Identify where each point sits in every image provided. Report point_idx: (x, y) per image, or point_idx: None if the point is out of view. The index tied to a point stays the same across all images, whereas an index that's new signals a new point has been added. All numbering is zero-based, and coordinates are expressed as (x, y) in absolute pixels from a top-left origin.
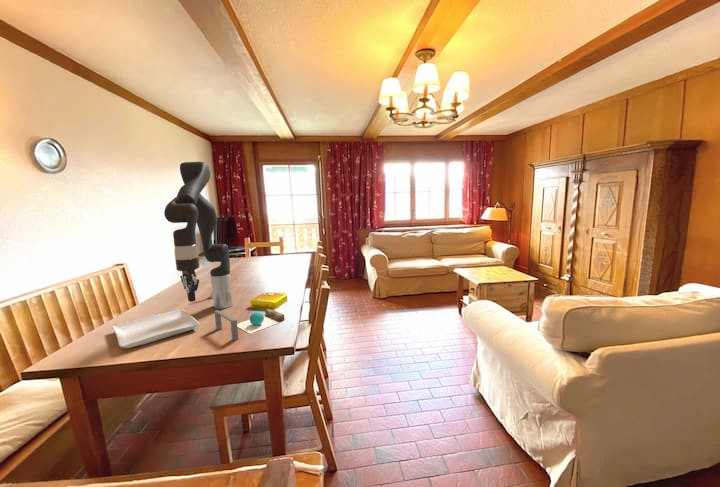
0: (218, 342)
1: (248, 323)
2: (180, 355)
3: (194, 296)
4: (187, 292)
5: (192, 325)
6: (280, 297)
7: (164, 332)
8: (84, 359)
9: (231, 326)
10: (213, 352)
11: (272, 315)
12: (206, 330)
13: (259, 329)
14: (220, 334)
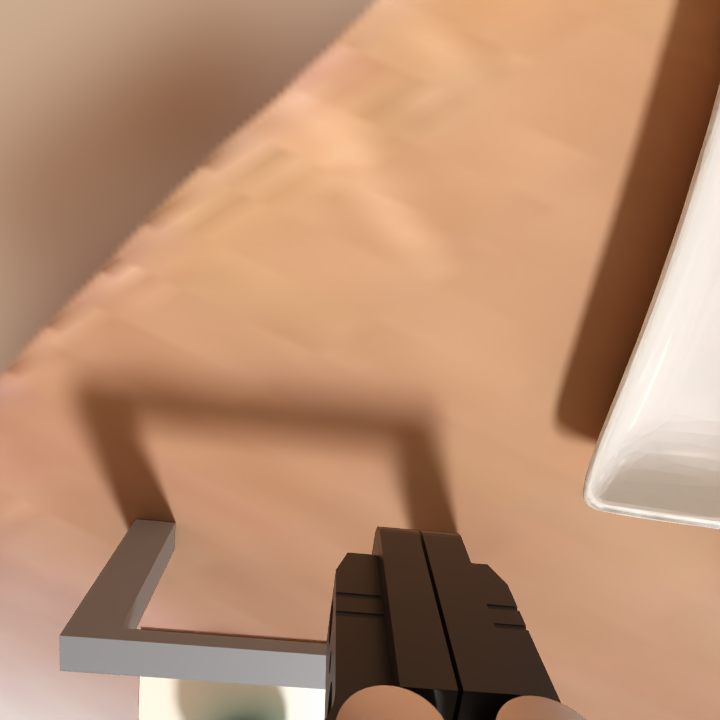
0: (213, 440)
1: (320, 716)
2: (251, 167)
3: (327, 680)
4: (487, 690)
5: (665, 468)
6: None
7: (687, 226)
8: None
9: (127, 592)
10: (79, 337)
11: None
12: (508, 495)
13: (148, 702)
14: (335, 516)
